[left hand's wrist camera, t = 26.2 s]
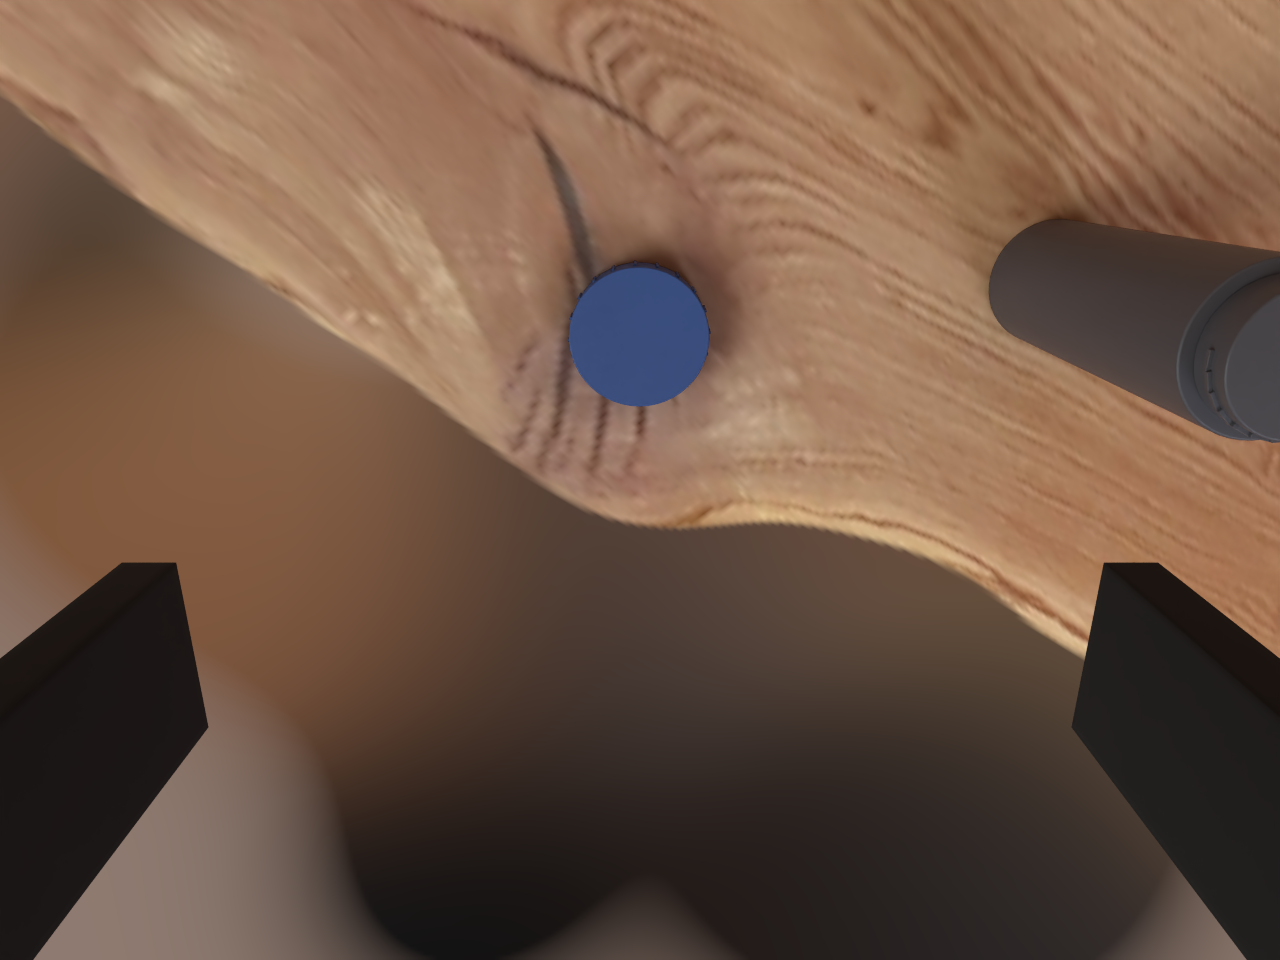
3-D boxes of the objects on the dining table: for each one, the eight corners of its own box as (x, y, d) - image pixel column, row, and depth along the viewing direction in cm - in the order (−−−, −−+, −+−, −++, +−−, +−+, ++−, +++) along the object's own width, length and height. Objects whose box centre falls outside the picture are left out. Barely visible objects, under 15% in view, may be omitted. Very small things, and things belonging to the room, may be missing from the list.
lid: (731, 355, 38) (735, 364, 36) (615, 421, 39) (614, 432, 37) (664, 234, 36) (666, 237, 34) (544, 306, 37) (540, 313, 35)
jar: (970, 327, 37) (1175, 434, 23) (1014, 205, 35) (1263, 240, 21) (1083, 354, 38) (1352, 475, 23) (1131, 235, 36) (1452, 287, 22)
